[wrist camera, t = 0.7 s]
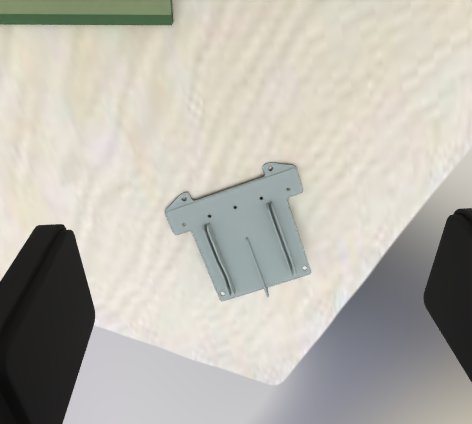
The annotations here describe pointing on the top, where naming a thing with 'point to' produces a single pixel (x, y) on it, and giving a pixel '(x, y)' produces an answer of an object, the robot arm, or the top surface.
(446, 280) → the robot arm
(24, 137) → the top surface
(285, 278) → the metal bracket
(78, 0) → the green rectangular slab
